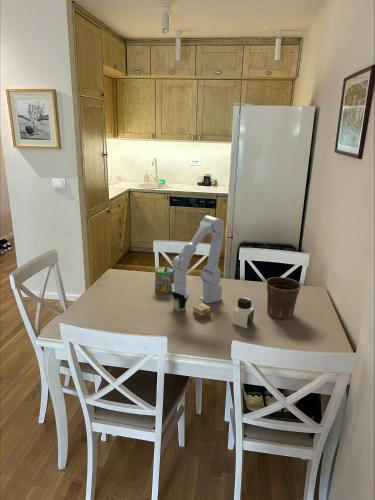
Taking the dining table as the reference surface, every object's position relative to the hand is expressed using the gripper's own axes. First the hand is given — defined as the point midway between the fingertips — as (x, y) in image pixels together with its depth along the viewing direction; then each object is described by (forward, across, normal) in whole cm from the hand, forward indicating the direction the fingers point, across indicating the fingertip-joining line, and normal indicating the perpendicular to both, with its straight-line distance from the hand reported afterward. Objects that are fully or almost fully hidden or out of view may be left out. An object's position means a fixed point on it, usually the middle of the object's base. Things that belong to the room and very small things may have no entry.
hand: (179, 306), depth 180 cm
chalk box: (+2, -24, +4) cm, 24 cm away
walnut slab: (+2, +11, +6) cm, 13 cm away
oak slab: (-1, +11, +6) cm, 13 cm away
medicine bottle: (+2, +26, +19) cm, 32 cm away
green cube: (+1, 0, 0) cm, 1 cm away
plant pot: (+2, +27, +41) cm, 49 cm away
